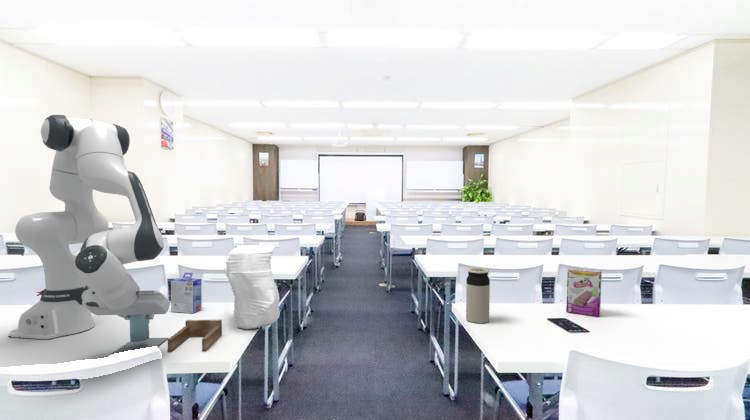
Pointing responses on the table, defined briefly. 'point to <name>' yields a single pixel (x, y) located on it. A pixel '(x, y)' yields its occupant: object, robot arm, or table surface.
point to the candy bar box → (584, 292)
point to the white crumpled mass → (253, 286)
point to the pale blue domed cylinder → (139, 328)
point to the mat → (141, 344)
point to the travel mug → (477, 295)
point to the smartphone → (568, 325)
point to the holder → (197, 333)
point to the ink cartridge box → (186, 294)
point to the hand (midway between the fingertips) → (140, 317)
